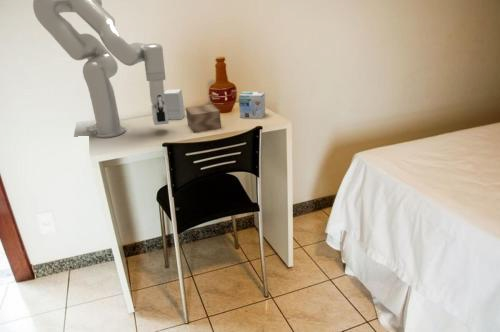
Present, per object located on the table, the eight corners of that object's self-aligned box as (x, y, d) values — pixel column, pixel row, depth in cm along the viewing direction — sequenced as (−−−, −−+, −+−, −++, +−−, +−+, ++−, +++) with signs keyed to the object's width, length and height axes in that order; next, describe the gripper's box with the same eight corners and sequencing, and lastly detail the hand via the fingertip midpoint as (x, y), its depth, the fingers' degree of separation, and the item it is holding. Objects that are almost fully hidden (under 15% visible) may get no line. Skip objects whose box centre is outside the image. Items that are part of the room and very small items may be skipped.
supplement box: (185, 114, 191) (182, 88, 186) (181, 119, 184) (178, 92, 179) (170, 115, 192) (166, 89, 186) (166, 120, 185) (162, 93, 180)
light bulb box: (239, 117, 182) (238, 94, 178) (244, 113, 188) (242, 91, 183) (262, 118, 179) (261, 95, 175) (265, 114, 185) (265, 91, 180)
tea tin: (154, 125, 164) (153, 108, 161) (153, 121, 169) (151, 105, 166) (168, 123, 166) (166, 107, 163) (166, 119, 171) (164, 103, 168)
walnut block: (193, 133, 166) (191, 114, 163) (187, 125, 177) (185, 107, 173) (221, 128, 170) (219, 110, 166) (213, 121, 180) (212, 103, 177)
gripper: (144, 72, 166) (149, 114, 173) (148, 81, 151) (153, 126, 158) (162, 71, 168) (166, 112, 175) (168, 79, 153) (172, 124, 161)
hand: (160, 118), depth 167 cm, fingers closed on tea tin, 5 cm apart
